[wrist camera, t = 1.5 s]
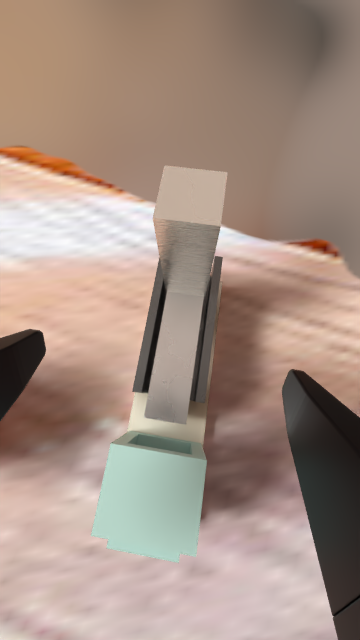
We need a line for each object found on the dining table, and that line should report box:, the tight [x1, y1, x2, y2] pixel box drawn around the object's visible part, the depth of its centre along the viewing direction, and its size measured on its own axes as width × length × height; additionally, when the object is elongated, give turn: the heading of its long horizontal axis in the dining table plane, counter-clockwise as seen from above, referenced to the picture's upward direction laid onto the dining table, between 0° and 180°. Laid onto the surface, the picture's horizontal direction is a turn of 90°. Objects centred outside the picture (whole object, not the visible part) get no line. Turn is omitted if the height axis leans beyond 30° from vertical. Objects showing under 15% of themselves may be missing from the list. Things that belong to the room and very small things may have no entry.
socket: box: [91, 431, 207, 563], centre depth 16 cm, size 5×6×5 cm
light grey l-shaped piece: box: [144, 166, 227, 425], centre depth 15 cm, size 12×3×11 cm, turn 171°
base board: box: [127, 282, 222, 448], centre depth 21 cm, size 19×6×1 cm, turn 171°
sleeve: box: [132, 256, 223, 403], centre depth 20 cm, size 11×5×4 cm, turn 171°
